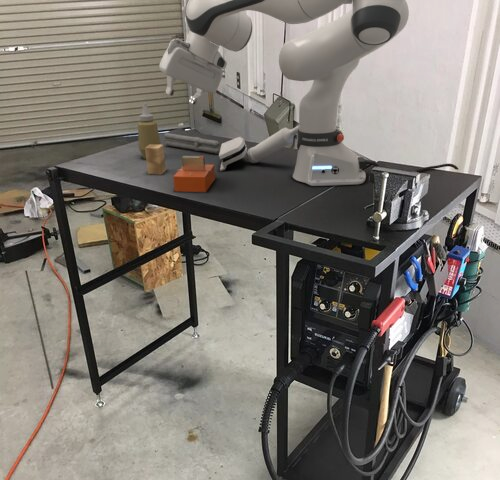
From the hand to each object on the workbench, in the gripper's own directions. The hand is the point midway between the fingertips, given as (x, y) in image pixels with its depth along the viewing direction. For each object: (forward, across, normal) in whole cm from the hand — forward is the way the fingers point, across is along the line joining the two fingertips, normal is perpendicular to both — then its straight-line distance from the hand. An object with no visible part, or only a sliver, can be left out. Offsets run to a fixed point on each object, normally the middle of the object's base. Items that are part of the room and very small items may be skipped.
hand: (180, 99), depth 152 cm
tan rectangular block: (+16, +8, -8) cm, 20 cm away
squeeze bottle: (+26, +22, +27) cm, 44 cm away
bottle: (+8, +35, -4) cm, 36 cm away
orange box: (+20, +10, -9) cm, 24 cm away
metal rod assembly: (+19, +37, +24) cm, 48 cm away
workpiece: (+26, +12, +10) cm, 30 cm away
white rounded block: (+12, +28, +3) cm, 30 cm away
